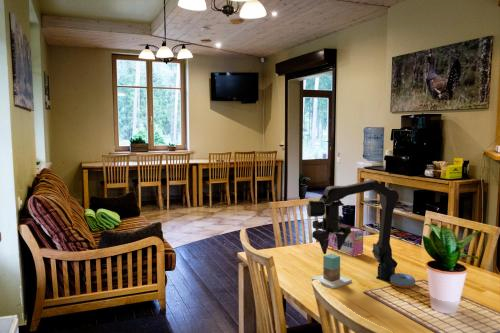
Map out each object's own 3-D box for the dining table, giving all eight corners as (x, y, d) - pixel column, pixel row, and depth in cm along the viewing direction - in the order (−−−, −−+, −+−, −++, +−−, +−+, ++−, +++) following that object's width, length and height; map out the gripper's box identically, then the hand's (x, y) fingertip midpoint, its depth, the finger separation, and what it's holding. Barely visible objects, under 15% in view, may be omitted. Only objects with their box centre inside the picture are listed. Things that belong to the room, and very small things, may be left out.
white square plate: (351, 281, 171) (351, 279, 171) (333, 288, 164) (333, 286, 164) (330, 274, 181) (330, 271, 181) (311, 280, 174) (311, 278, 173)
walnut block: (340, 279, 172) (340, 267, 172) (332, 281, 169) (332, 270, 168) (331, 275, 176) (331, 264, 175) (323, 278, 173) (323, 267, 172)
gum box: (321, 246, 226) (321, 222, 225) (331, 244, 230) (331, 220, 229) (353, 257, 206) (353, 231, 205) (363, 254, 210) (364, 229, 209)
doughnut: (392, 288, 164) (393, 277, 163) (387, 280, 173) (388, 270, 173) (417, 291, 162) (419, 280, 162) (410, 283, 172) (412, 273, 172)
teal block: (340, 267, 172) (340, 256, 171) (332, 270, 168) (332, 258, 168) (331, 264, 175) (331, 253, 175) (323, 267, 172) (323, 255, 172)
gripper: (332, 210, 182) (331, 244, 183) (303, 215, 171) (302, 251, 172) (351, 214, 173) (351, 249, 175) (322, 220, 162) (322, 257, 163)
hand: (331, 251), depth 171 cm, fingers open, 9 cm apart
